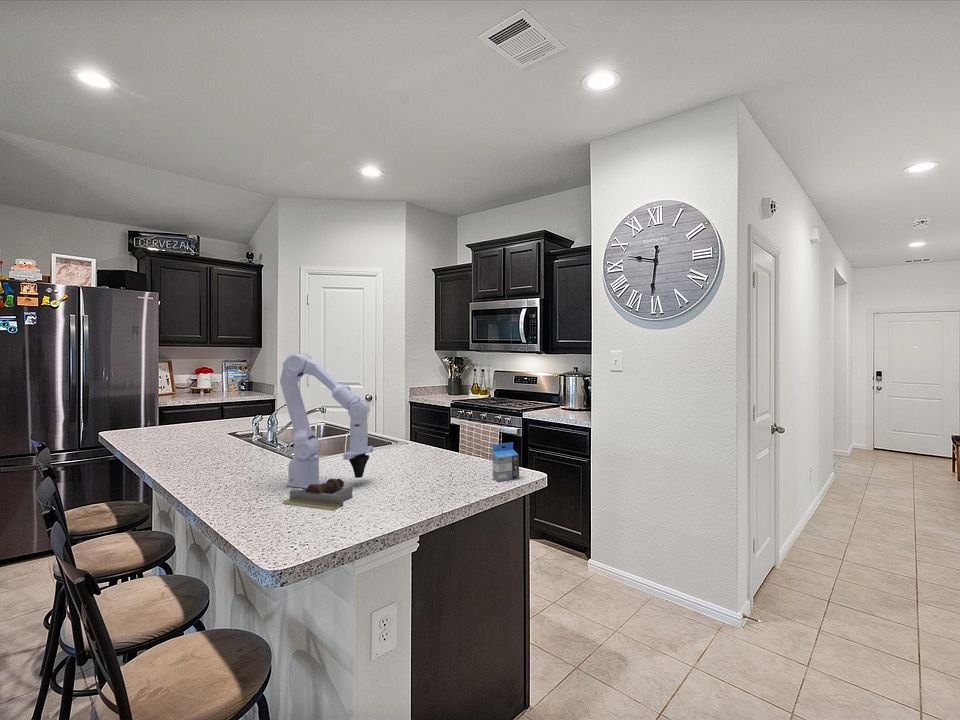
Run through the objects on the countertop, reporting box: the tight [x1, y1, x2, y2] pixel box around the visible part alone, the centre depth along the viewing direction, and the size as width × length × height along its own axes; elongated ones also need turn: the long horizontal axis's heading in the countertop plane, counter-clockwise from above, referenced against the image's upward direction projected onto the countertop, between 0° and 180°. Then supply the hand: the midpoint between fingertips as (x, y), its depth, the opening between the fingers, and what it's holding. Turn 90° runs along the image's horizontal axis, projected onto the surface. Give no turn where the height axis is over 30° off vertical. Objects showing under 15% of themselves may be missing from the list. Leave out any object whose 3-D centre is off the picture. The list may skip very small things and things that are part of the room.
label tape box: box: [491, 442, 520, 482], centre depth 175 cm, size 9×4×12 cm, turn 120°
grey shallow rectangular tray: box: [281, 484, 353, 511], centre depth 150 cm, size 18×12×3 cm
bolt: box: [306, 478, 345, 494], centre depth 157 cm, size 6×5×15 cm
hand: (358, 477), depth 169 cm, fingers closed
